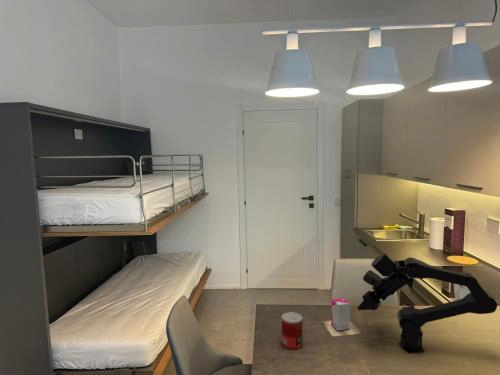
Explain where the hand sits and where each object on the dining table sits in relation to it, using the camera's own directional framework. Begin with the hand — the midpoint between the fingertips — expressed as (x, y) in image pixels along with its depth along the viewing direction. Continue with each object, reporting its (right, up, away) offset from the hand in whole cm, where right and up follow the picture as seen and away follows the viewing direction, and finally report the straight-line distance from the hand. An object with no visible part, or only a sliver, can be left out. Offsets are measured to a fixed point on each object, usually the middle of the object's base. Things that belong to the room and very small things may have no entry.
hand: (362, 304), depth 134 cm
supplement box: (-7, -12, +7) cm, 16 cm away
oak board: (-6, -13, +7) cm, 16 cm away
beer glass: (+52, -9, +21) cm, 57 cm away
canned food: (-28, -14, -4) cm, 32 cm away
